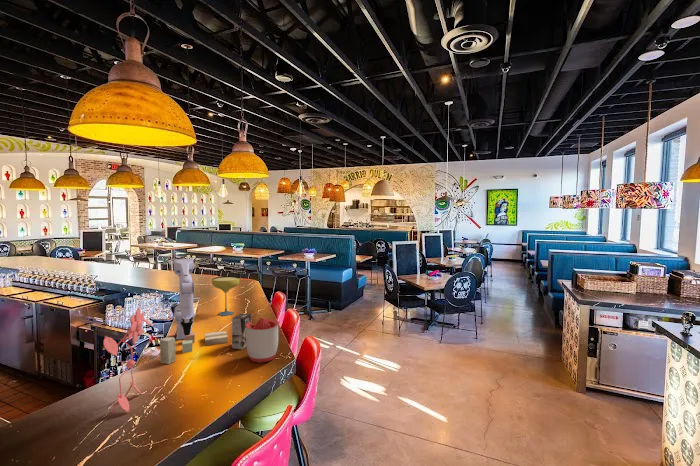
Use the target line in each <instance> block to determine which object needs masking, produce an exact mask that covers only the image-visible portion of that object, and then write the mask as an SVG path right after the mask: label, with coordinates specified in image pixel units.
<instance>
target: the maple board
mask: <svg viewBox="0 0 700 466" xmlns="http://www.w3.org/2000/svg"><path fill="white" fill-rule="evenodd" d="M204 343H205V345H206V346H212V344H213V345H219V344H226V343H228V332H227V331H226V330H222V331H213V332H205V333H204Z"/></svg>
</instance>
